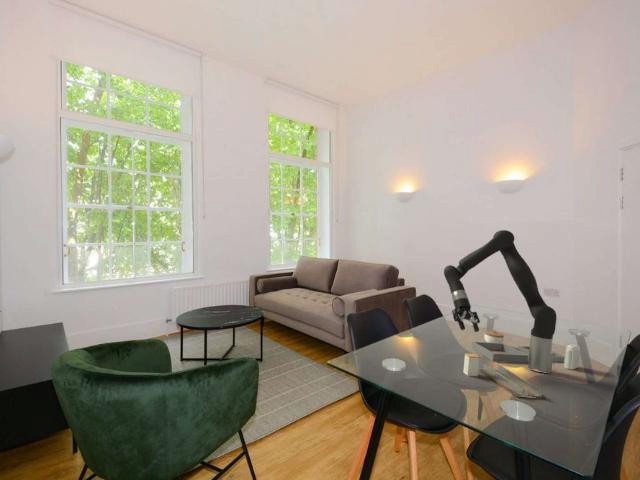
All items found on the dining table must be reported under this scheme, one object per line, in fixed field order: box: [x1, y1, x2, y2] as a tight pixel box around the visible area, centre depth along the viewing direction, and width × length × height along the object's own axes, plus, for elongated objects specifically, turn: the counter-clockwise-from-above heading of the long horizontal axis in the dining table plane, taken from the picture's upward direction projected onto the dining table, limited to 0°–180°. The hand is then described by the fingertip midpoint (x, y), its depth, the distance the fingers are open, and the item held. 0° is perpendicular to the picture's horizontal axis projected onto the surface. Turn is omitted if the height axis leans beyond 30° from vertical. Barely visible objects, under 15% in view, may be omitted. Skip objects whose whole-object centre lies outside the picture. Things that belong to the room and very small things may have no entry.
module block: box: [462, 353, 480, 377], centre depth 153 cm, size 5×4×9 cm
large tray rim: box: [471, 341, 529, 363], centre depth 186 cm, size 20×20×4 cm
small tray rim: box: [518, 345, 565, 363], centre depth 191 cm, size 16×16×3 cm
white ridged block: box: [563, 343, 581, 370], centre depth 175 cm, size 10×4×12 cm, turn 123°
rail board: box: [479, 363, 546, 400], centre depth 146 cm, size 12×26×4 cm, turn 6°
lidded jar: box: [484, 330, 505, 343], centre depth 205 cm, size 11×11×9 cm
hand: (470, 330), depth 162 cm, fingers open, 8 cm apart
